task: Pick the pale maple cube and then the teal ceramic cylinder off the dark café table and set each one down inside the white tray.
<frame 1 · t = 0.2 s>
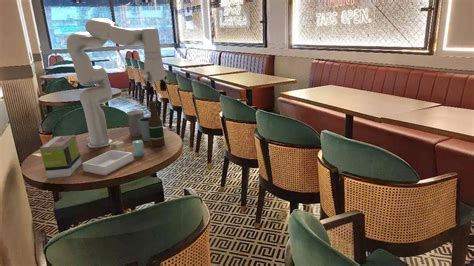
hand: (157, 92, 157), 31 cm above the table, tool pointing down, fingers open, 9 cm apart
white tray: (109, 165, 154), on the table
teal cylinder: (139, 154, 166), on the table
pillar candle: (138, 134, 201), on the table
maple cube: (118, 151, 172), on the table
tea box: (65, 171, 151), on the table
drinking glass: (150, 139, 190), on the table
beer bottle: (158, 145, 179), on the table
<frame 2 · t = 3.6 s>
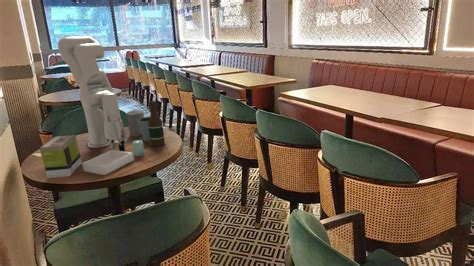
hand: (118, 150, 172), 0 cm above the table, tool pointing down, fingers closed on maple cube, 5 cm apart
maple cube: (118, 151, 172), on the table, touching gripper
everything else where it was.
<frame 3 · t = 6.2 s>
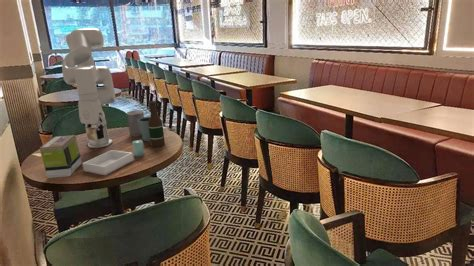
hand: (96, 137, 146), 15 cm above the table, tool pointing down, fingers closed on maple cube, 5 cm apart
maple cube: (96, 138, 146), point 15 cm above the table, touching gripper
everything else where it was.
when the fingers open (4 cm above the table, at t = 8.7 s): maple cube drops 3 cm, resting on white tray.
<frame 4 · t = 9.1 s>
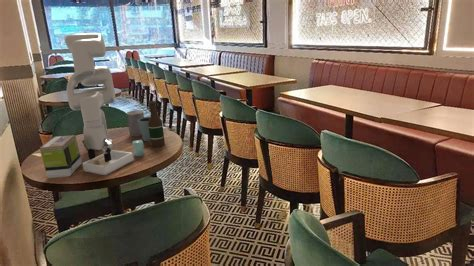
hand: (100, 159, 149), 5 cm above the table, tool pointing down, fingers open, 9 cm apart
maple cube: (102, 168, 150), point 1 cm above the table, touching white tray
everything else where it was.
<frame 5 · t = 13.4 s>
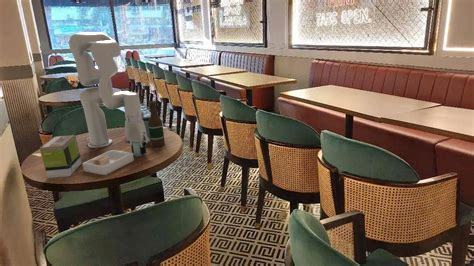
hand: (139, 152, 166), 1 cm above the table, tool pointing down, fingers closed on teal cylinder, 5 cm apart
teal cylinder: (139, 154, 166), on the table, touching gripper
everything else where it was.
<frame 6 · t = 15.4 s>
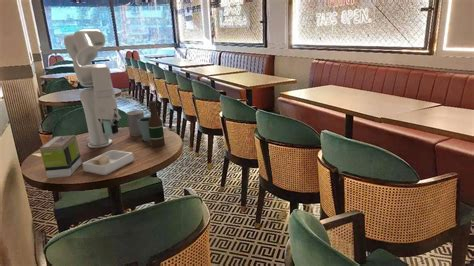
hand: (110, 132, 153), 15 cm above the table, tool pointing down, fingers closed on teal cylinder, 5 cm apart
teal cylinder: (111, 134, 153), point 14 cm above the table, touching gripper
everything else where it was.
when the fingers open (4 cm above the table, at t = 17.8 s): teal cylinder drops 2 cm, resting on white tray.
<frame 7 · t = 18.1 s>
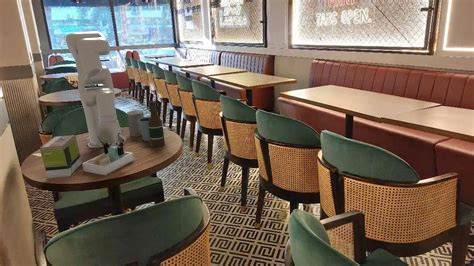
hand: (114, 153, 156), 4 cm above the table, tool pointing down, fingers open, 8 cm apart
teal cylinder: (115, 161, 157), point 1 cm above the table, touching white tray
everything else where it was.
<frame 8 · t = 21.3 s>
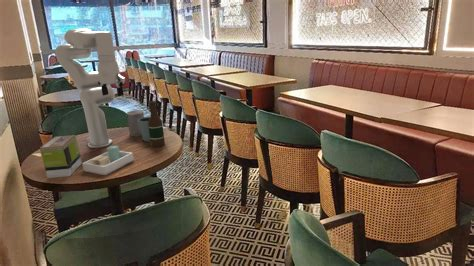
hand: (113, 95, 159), 30 cm above the table, tool pointing down, fingers open, 9 cm apart
nothing on the table moved.
at the end: maple cube inside the target area on the white tray (4.4 cm from its centre), point 0.6 cm above the white tray's base; teal cylinder inside the target area on the white tray (4.0 cm from its centre), point 0.7 cm above the white tray's base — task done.
